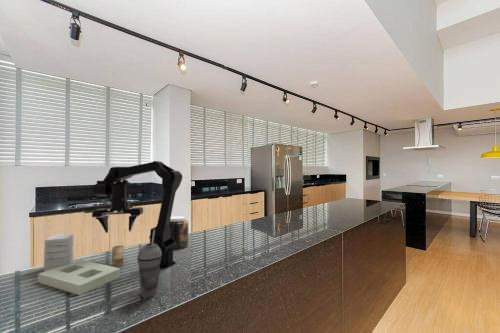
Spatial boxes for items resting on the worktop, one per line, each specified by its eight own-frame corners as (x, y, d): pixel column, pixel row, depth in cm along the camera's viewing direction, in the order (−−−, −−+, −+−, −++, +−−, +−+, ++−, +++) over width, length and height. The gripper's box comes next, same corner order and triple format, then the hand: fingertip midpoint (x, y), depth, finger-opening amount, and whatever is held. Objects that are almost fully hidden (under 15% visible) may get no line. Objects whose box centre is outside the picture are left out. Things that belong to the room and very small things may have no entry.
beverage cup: (141, 288, 75) (142, 227, 76) (164, 287, 76) (165, 227, 77) (132, 300, 68) (133, 232, 69) (157, 299, 69) (158, 232, 70)
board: (120, 276, 84) (120, 268, 84) (79, 295, 71) (79, 285, 71) (80, 267, 92) (81, 259, 92) (38, 282, 79) (38, 273, 79)
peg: (125, 265, 94) (126, 246, 94) (116, 269, 90) (117, 249, 90) (118, 264, 95) (119, 245, 96) (109, 268, 92) (109, 247, 92)
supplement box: (51, 266, 93) (52, 235, 93) (73, 263, 96) (74, 233, 96) (42, 273, 86) (44, 239, 86) (66, 270, 89) (68, 237, 89)
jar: (165, 251, 112) (165, 220, 113) (163, 244, 123) (164, 216, 124) (189, 248, 117) (190, 218, 118) (186, 241, 128) (186, 214, 128)
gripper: (146, 193, 109) (146, 226, 108) (103, 195, 106) (103, 229, 105) (139, 195, 98) (139, 232, 97) (91, 197, 95) (91, 235, 94)
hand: (118, 232), depth 99 cm, fingers open, 9 cm apart
